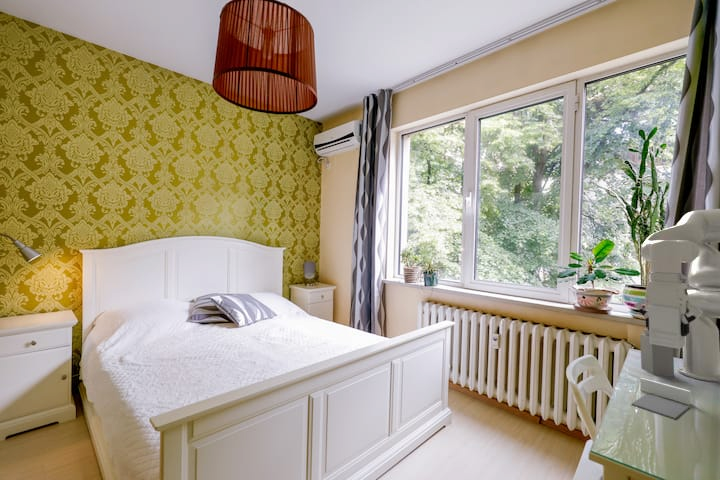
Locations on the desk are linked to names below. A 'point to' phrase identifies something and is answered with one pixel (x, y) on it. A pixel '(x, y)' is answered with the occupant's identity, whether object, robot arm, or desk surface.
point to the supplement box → (665, 326)
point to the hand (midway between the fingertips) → (666, 332)
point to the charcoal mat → (661, 406)
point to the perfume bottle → (656, 357)
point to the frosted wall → (666, 390)
